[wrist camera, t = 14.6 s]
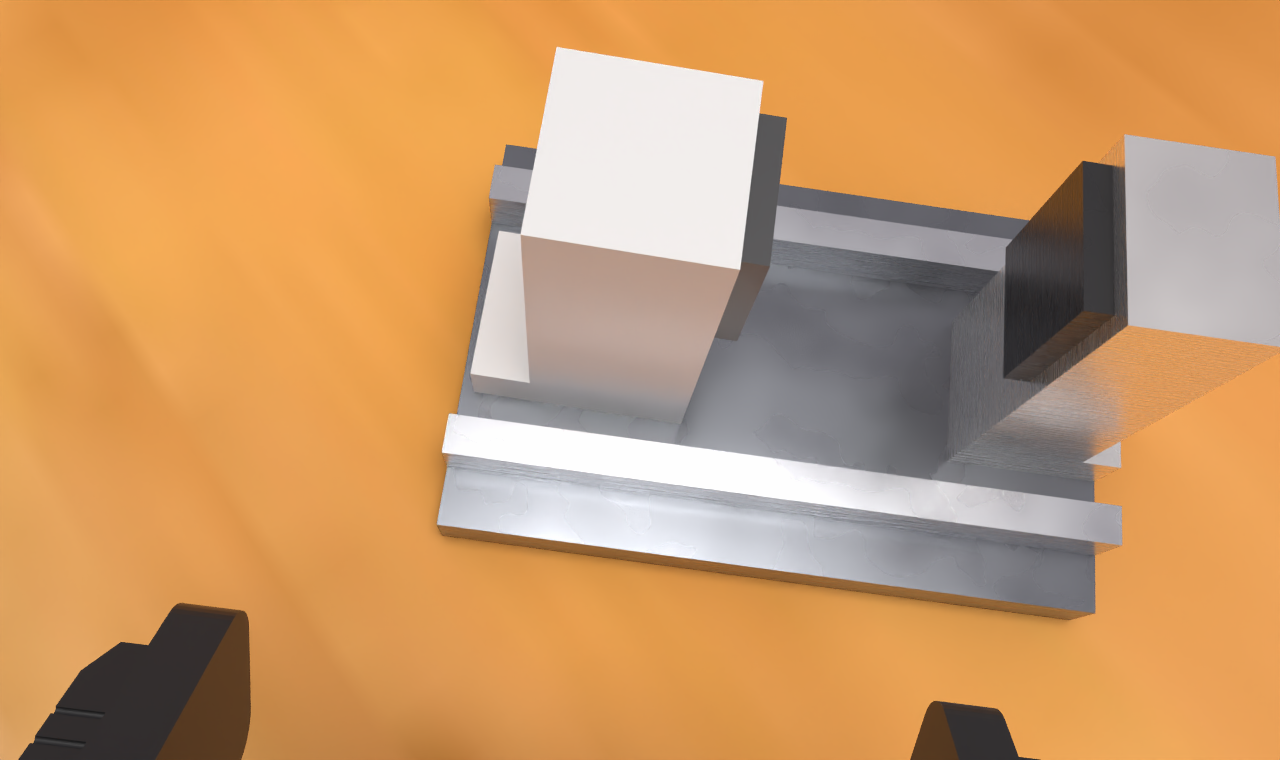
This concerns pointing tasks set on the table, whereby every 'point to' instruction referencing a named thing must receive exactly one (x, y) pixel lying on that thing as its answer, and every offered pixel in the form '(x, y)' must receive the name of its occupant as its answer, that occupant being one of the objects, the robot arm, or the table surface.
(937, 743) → the robot arm
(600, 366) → the white stepped block
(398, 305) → the table surface
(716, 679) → the table surface
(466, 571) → the table surface
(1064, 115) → the table surface
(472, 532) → the rail
